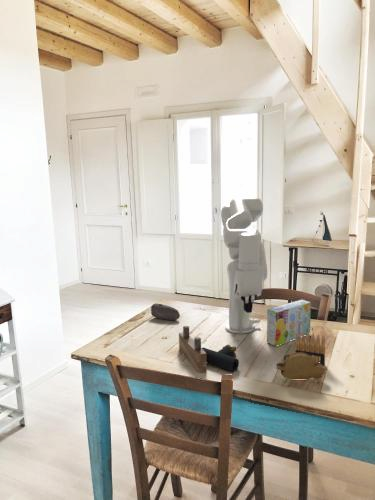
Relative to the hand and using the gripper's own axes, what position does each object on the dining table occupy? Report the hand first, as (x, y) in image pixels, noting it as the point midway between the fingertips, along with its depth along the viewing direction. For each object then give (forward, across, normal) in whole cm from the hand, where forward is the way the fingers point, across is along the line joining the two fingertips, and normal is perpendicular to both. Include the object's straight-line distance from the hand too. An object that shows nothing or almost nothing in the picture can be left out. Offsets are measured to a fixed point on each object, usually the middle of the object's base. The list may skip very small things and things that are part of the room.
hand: (247, 311), depth 156 cm
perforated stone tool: (+19, +18, -48) cm, 54 cm away
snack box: (+18, -22, -5) cm, 29 cm away
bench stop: (+17, +22, -2) cm, 28 cm away
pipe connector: (+17, +12, +4) cm, 22 cm away
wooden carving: (+17, -6, +25) cm, 31 cm away
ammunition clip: (+17, -16, +17) cm, 29 cm away
